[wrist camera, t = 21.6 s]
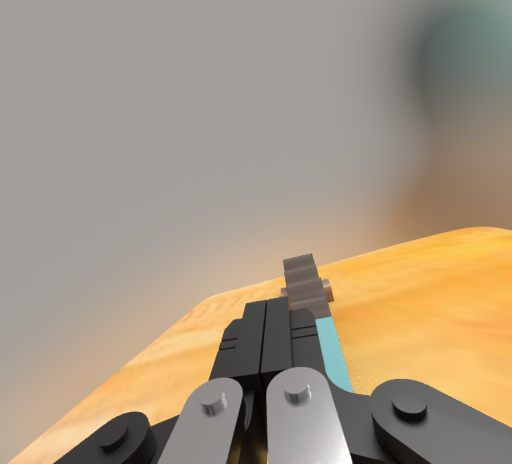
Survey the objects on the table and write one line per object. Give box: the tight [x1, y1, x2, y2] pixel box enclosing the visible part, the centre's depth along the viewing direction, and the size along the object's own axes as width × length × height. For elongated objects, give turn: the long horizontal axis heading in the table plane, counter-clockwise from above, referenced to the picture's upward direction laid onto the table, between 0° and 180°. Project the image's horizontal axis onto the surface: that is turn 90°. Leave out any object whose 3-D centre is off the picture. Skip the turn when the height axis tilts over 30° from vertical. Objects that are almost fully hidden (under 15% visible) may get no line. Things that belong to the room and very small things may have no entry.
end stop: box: [281, 279, 334, 302], centre depth 47 cm, size 3×8×2 cm, turn 85°
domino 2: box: [284, 265, 319, 294], centre depth 42 cm, size 2×5×10 cm
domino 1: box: [283, 254, 315, 271], centre depth 46 cm, size 2×5×10 cm
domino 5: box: [315, 317, 353, 393], centre depth 29 cm, size 2×5×10 cm
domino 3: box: [286, 278, 332, 317], centre depth 38 cm, size 2×5×10 cm
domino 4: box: [291, 296, 331, 320], centre depth 33 cm, size 2×5×10 cm
